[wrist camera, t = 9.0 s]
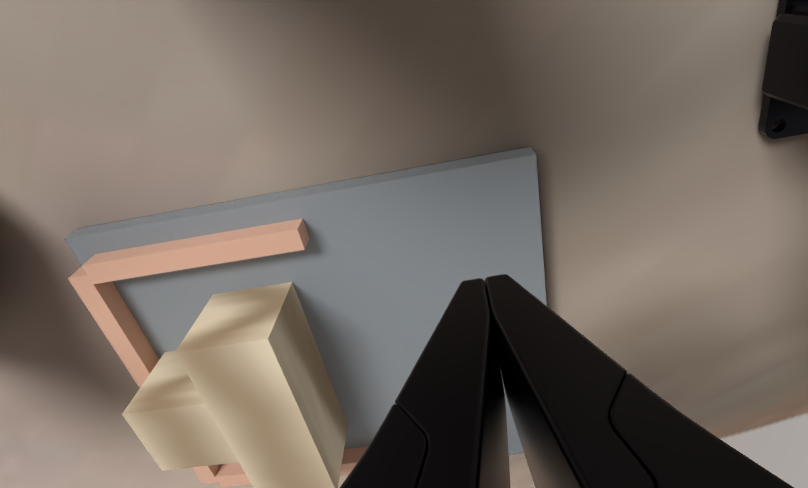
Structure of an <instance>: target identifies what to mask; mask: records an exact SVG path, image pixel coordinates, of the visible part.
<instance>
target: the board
mask: <svg viewBox="0 0 808 488" xmlns="http://www.w3.org/2000/svg"><path fill="white" fill-rule="evenodd" d="M65 241H66V242H67V244H68V246H69V247H70V249H71V250H72V252H73V254H74V255H75V257H76V258H77V260H78V261H79V263H80V265H81V266H82V267H81V268H79V269H78V270H77V271H76V272H75V273H74V274H72V275H71V276H70V277H69V278H68V280H69V281H70V283H71V284H72V286H73V287H74V289H75V290H76V292H77V293H78V295H79V296H80V298H81V299H82V301H83V303H84V304H85V306H86V307H87V309H88V310H89V312H90V313H91V315H92V316H93V318H94V319H95V321H96V322H97V324H98V325H99V327H100V328H101V330H102V331H103V333H104V334H105V336H106V338H107V339H108V341H109V342H110V344H111V345H112V347H113V348H114V350H115V351H116V353H117V354H118V356H119V357H120V359H121V360H122V362H123V363H124V365H125V366H126V368H127V369H128V371H129V373H130V374H131V376H132V377H133V379H134V380H135V382H136V383H137V385H138V386H139V388H140V387H141V386H142V384H143V383H144V382H145V380H146V379H147V377H148V376H149V374H150V373H151V371H152V370H153V368H154V367H155V366H156V364H157V363H158V361H159V360H160V358H161V357H162V355H163V354H164V352H170V351H176V350H177V348H178V347H179V345H180V344H181V342H182V341H183V339H184V338H185V336H186V335H187V333H188V332H189V330H190V329H191V327H192V326H193V324H194V323H195V321H196V320H197V318H198V317H199V315H200V314H201V312H202V310H203V309H204V307H205V306H206V304H207V303H208V301H209V300H210V298H211V297H212V295H213V294H220V293H226V292H232V291H238V290H245V289H251V288H257V287H264V286H270V285H276V284H283V283H289V282H293V285H294V288H295V290H296V293H297V295H298V298H299V301H300V303H301V306H302V308H303V311H304V314H305V316H306V319H307V321H308V324H309V326H310V329H311V332H312V334H313V337H314V339H315V342H316V345H317V347H318V350H319V352H320V355H321V357H322V360H323V363H324V365H325V368H326V370H327V373H328V376H329V378H330V381H331V383H332V386H333V388H334V391H335V394H336V396H337V399H338V401H339V404H340V407H341V409H342V412H343V414H344V417H345V419H346V422H347V425H348V428H347V434H346V440H345V446H344V452H343V458H342V464H341V470H340V476H341V475H349V474H350V473H351V471H352V470H353V468H354V467H355V465H356V464H357V462H358V461H359V459H360V458H361V456H362V455H363V454H364V452H365V451H366V449H367V448H368V446H369V444H370V443H371V441H372V439H373V438H374V436H375V434H376V433H377V431H378V429H379V428H380V426H381V424H382V423H383V421H384V419H385V418H386V416H387V414H388V412H389V410H390V408H391V407H392V405H393V404H395V400H396V398H397V396H398V395H399V393H400V391H401V389H402V387H403V386H404V384H405V382H406V380H407V378H408V377H409V375H410V373H411V371H412V369H413V368H414V366H415V364H416V362H417V360H418V359H419V357H420V355H421V353H422V351H423V350H424V348H425V346H426V344H427V342H428V341H429V339H430V337H431V335H432V333H433V332H434V330H435V328H436V326H437V324H438V323H439V321H440V319H441V317H442V315H443V314H444V312H445V310H446V308H447V306H448V305H449V303H450V301H451V299H452V298H453V296H454V294H455V292H456V290H457V289H458V287H459V285H460V283H461V282H462V281H465V280H471V279H477V278H482V279H483V280H484V281H485V279H486V278H487V277H489V276H495V275H501V274H507V275H509V276H510V277H511V278H513V279H514V280H515V281H516V282H518V283H519V284H520V285H521V286H523V287H524V288H525V289H526V290H527V291H529V292H530V293H531V294H532V295H534V296H535V297H536V298H537V299H539V300H540V301H541V302H542V303H544V304H545V305H546V306H547V304H546V289H545V275H544V261H543V246H542V232H541V218H540V203H539V189H538V174H537V160H536V154H535V152H534V150H533V149H532V147H526V148H521V149H515V150H510V151H504V152H499V153H493V154H488V155H482V156H477V157H471V158H466V159H460V160H455V161H449V162H443V163H438V164H432V165H427V166H421V167H416V168H410V169H405V170H399V171H394V172H388V173H383V174H377V175H372V176H366V177H361V178H355V179H350V180H344V181H339V182H333V183H328V184H322V185H316V186H311V187H305V188H300V189H294V190H289V191H283V192H278V193H272V194H267V195H261V196H256V197H250V198H245V199H239V200H234V201H228V202H223V203H217V204H212V205H206V206H200V207H195V208H189V209H184V210H178V211H173V212H167V213H162V214H156V215H151V216H145V217H140V218H134V219H129V220H123V221H118V222H112V223H107V224H101V225H96V226H90V227H85V228H79V229H77V230H76V231H74V232H73V233H72V234H70V235H69V236H68V237H66V238H65ZM502 380H503V379H502ZM503 386H504V384H503ZM504 393H505V389H504ZM505 401H506V415H507V434H508V453H509V455H510V454H520V453H524V450H523V447H522V444H521V441H520V438H519V435H518V432H517V429H516V426H515V423H514V420H513V417H512V414H511V411H510V407H509V404H508V401H507V397H506V393H505ZM192 468H193V470H194V471H195V473H196V475H197V476H198V478H199V479H200V481H201V482H202V484H205V483H215V482H218V483H219V484H220V486H221V487H229V486H239V485H250V484H251V482H250V480H249V479H248V477H247V475H246V474H245V472H244V470H243V468H242V467H241V465H240V463H239V462H237V463H228V464H218V465H209V466H200V467H192Z"/></svg>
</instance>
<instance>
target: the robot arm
mask: <svg viewBox="0 0 808 488" xmlns="http://www.w3.org/2000/svg"><path fill="white" fill-rule="evenodd" d="M762 91H763V92H764V96H763V102H762V108H761V115H760V121H759V131H760V132H761V134H763V135H765V136H767V137H770V138H774V139H777V138H783V137H789V136H794V135H800V134H806V133H808V0H779V4H778V10H777V17H776V19H775V21H774V22H773V24H772V31H771V37H770V43H769V49H768V56H767V62H766V68H765V74H764V80H763V87H762ZM778 120H779V121H780V122H779V124H778V126H777V127H776V128H774V129H772V126H773V124H774V123H775V122H776V121H778ZM502 379H503V380H502ZM503 384H504V386H503ZM504 389H505V393H506V397H507V401H508V404H509V407H510V411H511V414H512V417H513V420H514V423H515V426H516V429H517V432H518V435H519V438H520V441H521V444H522V447H523V450H524V453H525V456H526V459H527V463H528V466H529V469H530V472H531V475H532V478H533V481H534V484H535V487H536V488H794V487H792V486H791V485H789V484H787V483H786V482H784V481H783V480H781V479H780V478H778V477H777V476H775V475H774V474H772V473H771V472H769V471H768V470H766V469H765V468H763V467H761V466H760V465H758V464H757V463H755V462H754V461H752V460H751V459H749V458H748V457H746V456H745V455H743V454H742V453H740V452H739V451H737V450H736V449H734V448H732V447H731V446H729V445H728V444H726V443H725V442H723V441H722V440H720V439H719V438H717V437H716V436H714V435H713V434H711V433H710V432H708V431H707V430H705V429H704V428H703V427H701V426H700V425H698V424H697V423H695V422H694V421H692V420H691V419H689V418H688V417H687V416H685V415H684V414H682V413H681V412H679V411H678V410H676V409H675V408H674V407H673V406H671V405H670V404H669V403H667V402H666V401H665V400H663V399H662V398H661V397H659V396H658V395H657V394H656V393H654V392H653V391H652V390H650V389H649V388H648V387H646V386H645V385H644V384H643V383H641V382H640V381H639V380H638V379H637V378H635V377H634V376H633V375H632V374H627V371H626V370H625V369H624V368H623V367H621V366H620V365H619V364H618V363H617V362H615V361H614V360H613V359H612V358H610V357H609V356H608V355H607V354H605V353H604V352H603V351H602V350H600V349H599V348H598V347H597V346H595V345H594V344H593V343H592V342H591V341H589V340H588V339H587V338H586V337H584V336H583V335H582V334H581V333H579V332H578V331H577V330H576V329H574V328H573V327H572V326H571V325H570V324H568V323H567V322H566V321H565V320H563V319H562V318H561V317H560V316H558V315H557V314H556V313H555V312H553V311H552V310H551V309H550V308H548V307H547V306H546V305H545V304H544V303H542V302H541V301H540V300H539V299H537V298H536V297H535V296H534V295H532V294H531V293H530V292H529V291H527V290H526V289H525V288H524V287H523V286H521V285H520V284H519V283H518V282H516V281H515V280H514V279H513V278H511V277H510V276H509V275H507V274H501V275H495V276H489V277H487V278H486V279H485V281H484V280H483V279H482V278H477V279H471V280H465V281H462V282H461V283H460V285H459V287H458V289H457V290H456V292H455V294H454V296H453V298H452V299H451V301H450V303H449V305H448V306H447V308H446V310H445V312H444V314H443V315H442V317H441V319H440V321H439V323H438V324H437V326H436V328H435V330H434V332H433V333H432V335H431V337H430V339H429V341H428V342H427V344H426V346H425V348H424V350H423V351H422V353H421V355H420V357H419V359H418V360H417V362H416V364H415V366H414V368H413V369H412V371H411V373H410V375H409V377H408V378H407V380H406V382H405V384H404V386H403V387H402V389H401V391H400V393H399V395H398V396H397V398H396V400H395V404H393V405H392V407H391V408H390V410H389V412H388V414H387V416H386V418H385V419H384V421H383V423H382V424H381V426H380V428H379V429H378V431H377V433H376V434H375V436H374V438H373V439H372V441H371V443H370V444H369V446H368V448H367V449H366V451H365V452H364V454H363V455H362V456H361V458H360V459H359V461H358V462H357V464H356V465H355V467H354V468H353V470H352V471H351V473H350V474H349V475H348V477H347V478H346V480H345V481H344V482H343V484H342V485H341V487H340V488H510V472H509V453H508V434H507V415H506V401H505V393H504Z"/></svg>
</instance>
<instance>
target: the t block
mask: <svg viewBox="0 0 808 488" xmlns="http://www.w3.org/2000/svg"><path fill="white" fill-rule="evenodd" d="M122 415H123V417H124V418H125V419H126V421H127V422H128V424H129V425H130V426H131V428H132V429H133V431H134V432H135V433H136V435H137V436H138V438H139V439H140V440H141V442H142V443H143V445H144V446H145V447H146V449H147V450H148V452H149V453H150V454H151V456H152V457H153V459H154V460H155V461H156V463H157V464H158V466H159V467H160V468H161V470H162V471H163V470H172V469H181V468H191V467H200V466H209V465H218V464H228V463H237V462H239V463H240V465H241V467H242V468H243V470H244V472H245V474H246V475H247V477H248V479H249V480H250V482H251V484H252V486H253V487H254V488H338V482H339V476H340V470H341V464H342V458H343V452H344V446H345V440H346V434H347V428H348V425H347V422H346V419H345V417H344V414H343V412H342V409H341V407H340V404H339V401H338V399H337V396H336V394H335V391H334V388H333V386H332V383H331V381H330V378H329V376H328V373H327V370H326V368H325V365H324V363H323V360H322V357H321V355H320V352H319V350H318V347H317V345H316V342H315V339H314V337H313V334H312V332H311V329H310V326H309V324H308V321H307V319H306V316H305V314H304V311H303V308H302V306H301V303H300V301H299V298H298V295H297V293H296V290H295V288H294V285H293V282H289V283H283V284H276V285H270V286H264V287H257V288H251V289H245V290H238V291H232V292H226V293H220V294H213V295H212V297H211V298H210V300H209V301H208V303H207V304H206V306H205V307H204V309H203V310H202V312H201V314H200V315H199V317H198V318H197V320H196V321H195V323H194V324H193V326H192V327H191V329H190V330H189V332H188V333H187V335H186V336H185V338H184V339H183V341H182V342H181V344H180V345H179V347H178V348H177V350H176V351H170V352H164V354H163V355H162V357H161V358H160V360H159V361H158V363H157V364H156V366H155V367H154V368H153V370H152V371H151V373H150V374H149V376H148V377H147V379H146V380H145V382H144V383H143V384H142V386H141V387H140V389H139V390H138V392H137V393H136V395H135V396H134V398H133V399H132V400H131V402H130V403H129V405H128V406H127V408H126V409H125V411H124V412H123V414H122Z"/></svg>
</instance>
